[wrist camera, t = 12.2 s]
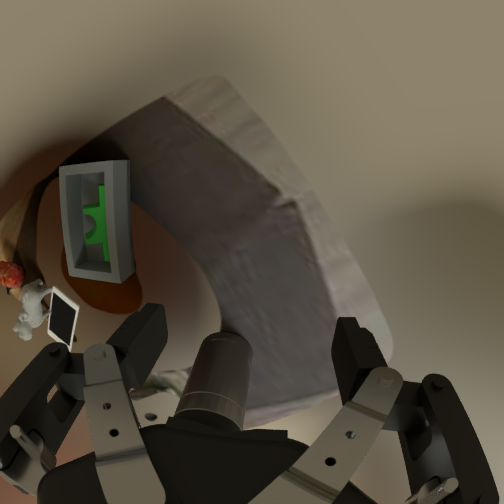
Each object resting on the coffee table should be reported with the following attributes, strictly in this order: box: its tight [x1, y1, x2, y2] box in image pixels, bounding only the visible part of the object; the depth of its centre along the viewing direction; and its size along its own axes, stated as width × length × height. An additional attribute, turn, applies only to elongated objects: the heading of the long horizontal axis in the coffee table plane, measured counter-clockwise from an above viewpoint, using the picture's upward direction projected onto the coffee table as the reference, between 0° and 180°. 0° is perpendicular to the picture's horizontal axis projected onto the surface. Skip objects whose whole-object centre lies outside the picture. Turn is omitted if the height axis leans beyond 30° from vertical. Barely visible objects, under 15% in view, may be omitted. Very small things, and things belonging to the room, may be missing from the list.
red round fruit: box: [0, 252, 25, 295], centre depth 42 cm, size 7×7×10 cm
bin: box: [59, 160, 135, 283], centre depth 38 cm, size 18×11×5 cm, turn 177°
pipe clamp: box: [83, 184, 110, 261], centre depth 36 cm, size 11×4×5 cm
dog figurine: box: [13, 279, 52, 340], centre depth 42 cm, size 5×13×11 cm, turn 156°
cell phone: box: [48, 286, 80, 351], centre depth 48 cm, size 8×16×1 cm, turn 148°
